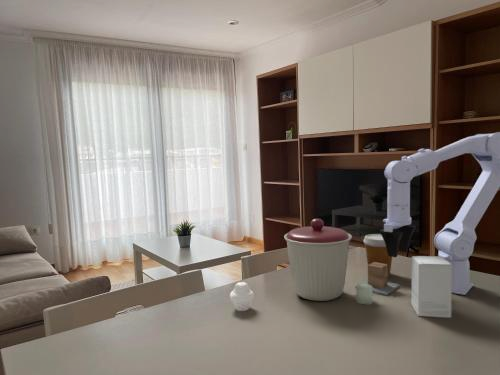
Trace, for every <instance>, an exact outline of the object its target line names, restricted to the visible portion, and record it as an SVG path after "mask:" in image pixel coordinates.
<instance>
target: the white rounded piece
mask: <svg viewBox="0 0 500 375" xmlns="http://www.w3.org/2000/svg"><path fill="white" fill-rule="evenodd" d="M254 297H255V294H254V292H253V291H252V290H251V288H250V287H249V284H248V283H247V282H245V281H240V282H237V283H236V284H235V285H234V288H233V290H232V291H231V292H230V294H229V299H230V302H231V303H232V305H233V306H234V308H235V309H236V311H237V312H245V311H248V310H249V309H250V308H251V305H252V303H253V300H254Z"/></svg>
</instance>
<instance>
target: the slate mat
mask: <svg viewBox="0 0 500 375" xmlns="http://www.w3.org/2000/svg"><path fill="white" fill-rule="evenodd" d="M360 284H368V278H367V279H366V280H364V281H363V282H361V283H360ZM400 286H401V285H400V284H399V283H394V282H390V281H387V286H385V287H384V288H382V289H380V288H375V287H372V294H378V295H381V294H382V296H385V297H387V296H389V295H390V294H391V293H392V292H394V291H395V290H396V289H398V288H399V287H400Z"/></svg>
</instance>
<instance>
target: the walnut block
mask: <svg viewBox="0 0 500 375" xmlns="http://www.w3.org/2000/svg"><path fill="white" fill-rule="evenodd" d="M367 279H368V284H369V285H371V286H372V287H375V288H380V289H382V288H384V287H385V286H387V282H388V277H387V264H382V263H376V262H373V263H371V264H369V265H368V264H367Z"/></svg>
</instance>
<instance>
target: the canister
mask: <svg viewBox="0 0 500 375" xmlns="http://www.w3.org/2000/svg"><path fill="white" fill-rule="evenodd" d="M324 224H325V223H324V220H322V219H321V218H313V219H312V220H311V221H310V226H301V227H297V228H293V229H292V230H290V231H289V232H287V233H286V234H284V236H283V237H284V240H285V241H286V245H287V255H288V260H289V269H290V274H291V282H292V286H293V289H294V292H295V293H296V294H297V295H298V296H299V297H301V298H303V299H306V300H309V301H314V302H316V301H317V302H325V301H331V300H335V299H337V298H338V297H340V296H341V294H343V292H344V289H345V284H346V275H347V268H348V267H347V266H348V256H349V248H350V246H349V245H350V241H351V240H352V238H353V235H352V234H350V233H349V232H348V231H346V230H344V229H342V228H340V227H339V228H338V227H334V226H333V227H332V226H325V225H324Z"/></svg>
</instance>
